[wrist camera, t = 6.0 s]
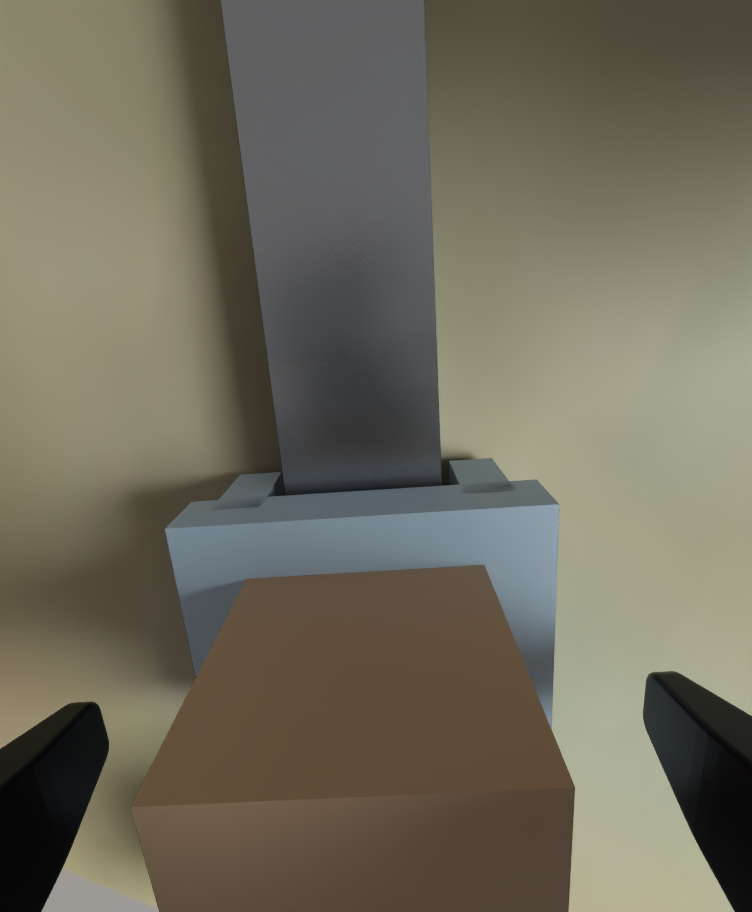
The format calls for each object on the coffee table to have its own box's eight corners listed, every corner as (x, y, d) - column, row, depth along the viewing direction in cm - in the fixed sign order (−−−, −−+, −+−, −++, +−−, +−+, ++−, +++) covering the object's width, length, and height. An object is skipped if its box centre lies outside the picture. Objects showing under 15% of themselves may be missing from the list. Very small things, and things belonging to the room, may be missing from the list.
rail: (468, -333, 7) (499, -560, 5) (483, 725, 13) (500, 798, 11) (138, -295, 8) (56, -503, 6) (292, 735, 13) (277, 808, 11)
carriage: (515, 456, 10) (727, 687, 4) (513, 690, 12) (662, 1115, 6) (217, 475, 11) (-32, 725, 4) (256, 703, 12) (119, 1129, 6)
